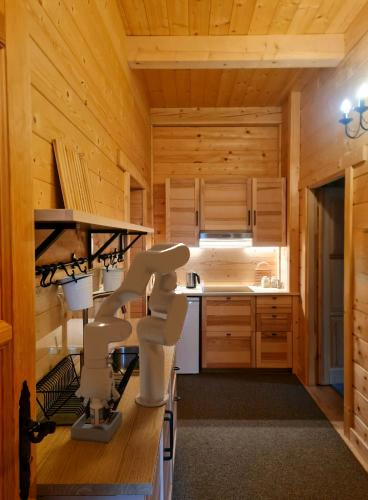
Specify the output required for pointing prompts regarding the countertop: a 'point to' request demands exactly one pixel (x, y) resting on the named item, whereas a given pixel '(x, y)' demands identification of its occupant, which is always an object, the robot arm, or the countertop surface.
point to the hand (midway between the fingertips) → (97, 416)
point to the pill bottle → (97, 412)
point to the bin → (96, 429)
